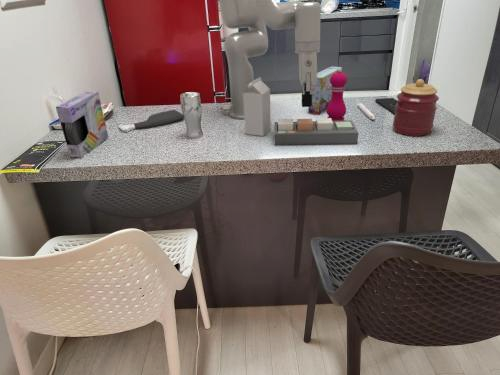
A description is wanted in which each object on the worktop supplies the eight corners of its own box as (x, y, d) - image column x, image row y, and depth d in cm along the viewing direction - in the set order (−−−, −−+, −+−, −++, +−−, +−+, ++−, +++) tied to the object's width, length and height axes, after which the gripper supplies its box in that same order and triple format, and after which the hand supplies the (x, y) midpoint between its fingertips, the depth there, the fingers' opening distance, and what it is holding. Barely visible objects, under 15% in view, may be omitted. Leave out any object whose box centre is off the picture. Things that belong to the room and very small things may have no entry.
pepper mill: (345, 125, 137) (350, 70, 128) (325, 125, 139) (328, 70, 129) (345, 119, 143) (349, 65, 134) (326, 118, 145) (329, 65, 135)
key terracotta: (297, 134, 125) (297, 123, 123) (296, 129, 129) (297, 118, 127) (312, 134, 125) (313, 123, 123) (311, 129, 129) (311, 118, 127)
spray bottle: (185, 121, 151) (126, 137, 139) (174, 115, 159) (117, 129, 147) (184, 114, 149) (124, 129, 138) (173, 108, 157) (116, 122, 146)
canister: (385, 131, 130) (392, 80, 122) (401, 121, 138) (409, 73, 130) (423, 139, 122) (433, 85, 114) (437, 128, 131) (448, 77, 122)
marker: (376, 121, 140) (377, 115, 139) (371, 122, 140) (371, 116, 139) (362, 107, 156) (362, 102, 155) (357, 108, 156) (357, 102, 155)
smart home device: (395, 112, 144) (374, 98, 161) (394, 117, 144) (374, 102, 162) (415, 111, 144) (393, 97, 162) (415, 115, 145) (392, 101, 162)
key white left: (278, 135, 125) (278, 124, 124) (278, 129, 130) (278, 119, 128) (293, 134, 125) (293, 123, 123) (292, 129, 129) (292, 119, 128)
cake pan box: (81, 160, 121) (65, 106, 112) (67, 159, 122) (50, 106, 113) (110, 138, 137) (99, 90, 129) (98, 137, 138) (85, 90, 129)
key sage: (336, 137, 125) (337, 127, 123) (334, 132, 129) (335, 122, 127) (351, 137, 124) (352, 126, 122) (349, 132, 129) (350, 121, 127)
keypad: (274, 145, 124) (274, 133, 122) (274, 132, 134) (274, 121, 132) (357, 144, 122) (358, 132, 120) (350, 131, 132) (351, 119, 130)
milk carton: (270, 130, 137) (269, 77, 128) (263, 136, 131) (261, 82, 122) (253, 127, 140) (251, 76, 130) (245, 134, 134) (242, 81, 125)
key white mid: (317, 134, 124) (317, 123, 123) (315, 129, 129) (316, 118, 127) (332, 133, 124) (333, 123, 122) (330, 128, 128) (331, 118, 127)
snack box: (320, 115, 149) (322, 77, 141) (307, 113, 152) (308, 76, 144) (340, 101, 164) (342, 66, 157) (328, 100, 167) (330, 65, 159)
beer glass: (196, 130, 140) (191, 90, 132) (208, 134, 135) (204, 93, 128) (181, 136, 136) (175, 95, 128) (192, 140, 131) (187, 98, 124)
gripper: (322, 49, 107) (320, 112, 115) (317, 43, 120) (316, 99, 128) (296, 51, 107) (296, 113, 116) (293, 44, 120) (294, 100, 129)
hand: (306, 106), depth 122 cm, fingers closed
